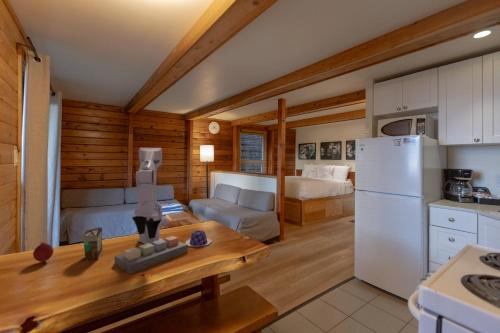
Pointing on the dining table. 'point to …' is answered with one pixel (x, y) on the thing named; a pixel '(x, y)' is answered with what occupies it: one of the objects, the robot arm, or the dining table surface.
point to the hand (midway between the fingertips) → (146, 235)
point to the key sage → (146, 249)
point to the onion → (43, 252)
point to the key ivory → (132, 253)
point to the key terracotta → (171, 241)
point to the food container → (92, 243)
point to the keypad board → (150, 258)
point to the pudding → (198, 239)
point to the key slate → (159, 244)
